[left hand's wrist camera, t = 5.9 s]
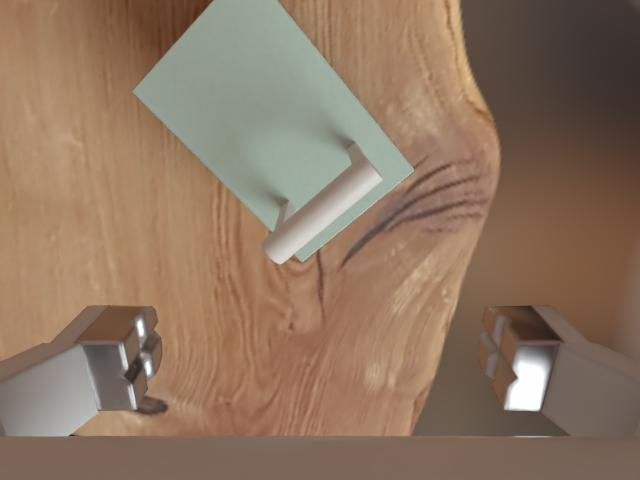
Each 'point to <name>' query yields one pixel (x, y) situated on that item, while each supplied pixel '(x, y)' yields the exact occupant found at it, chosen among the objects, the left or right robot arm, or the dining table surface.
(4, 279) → the dining table surface
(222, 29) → the lid
